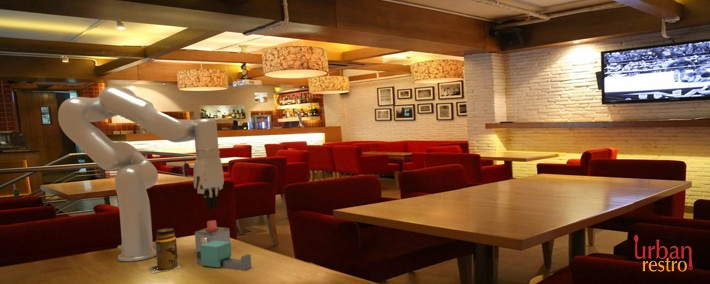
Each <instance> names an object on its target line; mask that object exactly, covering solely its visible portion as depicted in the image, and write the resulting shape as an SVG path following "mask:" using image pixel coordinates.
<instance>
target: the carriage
mask: <svg viewBox="0 0 710 284" xmlns="http://www.w3.org/2000/svg"><path fill="white" fill-rule="evenodd" d="M231 245H232V244H231V241H230V242H224V241H211V242H208V243H205V244H202V245H200V253H201V259H202V266H207V267H213V268H222V267H221V263H220V260H222V259H225V258H231V259H232V246H231Z"/></svg>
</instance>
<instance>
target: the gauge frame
mask: <svg viewBox="0 0 710 284" xmlns="http://www.w3.org/2000/svg"><path fill="white" fill-rule="evenodd" d="M194 238H195V253H196V254H195V255H196V256H197V251H200V245H202V244H205V243H208V242H211V241H224V242H231V236H230V227H220V226H219V227H218V226H217V230H216V231H213V232H210V231H208V229H207V227H206V228H203V229H199V230H196V231H194Z"/></svg>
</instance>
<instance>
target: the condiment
mask: <svg viewBox="0 0 710 284" xmlns="http://www.w3.org/2000/svg"><path fill="white" fill-rule="evenodd" d="M155 233H156V239H155V249H156V254H157V255H156V263H157V264H156V265H151V266H148V269H149V271H150V270H151V271H150V272H151V273H152V274H155V273H160V272H162V271H160V270H164V271H163V272H165V270H166V271H171V270H177V269H180V268H182V267H181V265H180V264H178V263H179V262H178V257H179V255H178V248H177V238H176V236H175V235H176V234H175V229H174V228H173V227H172V228H170V227H165V228H161V229H158V230H157V231H156V232H155ZM157 268H158V269H157ZM154 269H155V270H154ZM170 269H171V270H170ZM156 270H158V271H156Z"/></svg>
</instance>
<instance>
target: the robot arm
mask: <svg viewBox="0 0 710 284" xmlns="http://www.w3.org/2000/svg"><path fill="white" fill-rule="evenodd" d="M116 116H119V117H121V118H123V119H126V120H129V121H131V122H132V123H135V124H137V125H138V126H140V127H141V128H143V129H144V130H146V131H148V132H149V133H151V134H153V135H154V136H157V137H159V138H161V139H164V140H166V141H169V142H173V143H186V142H190V141H194V147H195V160H194V164H193V174H192V175H193V187H194V189H196V190H197V194H202V195H203V196H204V198H205V200H206V201H205V202H206V208H207V209H208V210H215V209H217V208H218V202H217V197H218V195H219V191H221V190H222V189H223V188H224V184H225V183H224V182H225V178H224V169H223V163H222V160H221V157H220V153H221V151H220V149H219V138H218V136H219V135H218V126H217V125H218V124H217V121H216V119H214V118H197V119H178V118H175V117H172V116H170V115H167V114H165V113H163V112H162V111H159V110H158V109H156V108H155V106H154V104H153V103H152V102H151V101H149V100H147V99H145V98H142V97H141V96H138V95H136V94H135V93H134V92H133V90H131V89H130V88H127V87H121V86H116V85H115V86H114V85H113V86H112V85H111V86H107V87H105V88H103V89H102V90H100V92H99V94H98V96H96V97H85V96H84V97H83V96H73V97H70V98H68V99H65V100H64V101H62V103H61V104H60V106H59V108H58V113H57V118H58V124H59V127H60V128H61V130H62V132H63V133H64V134H65V136H67V137H68V138H69V139H70V140H71V141H72V142H73V143H74V144H76V146H78V147H79V148H80V149H81V150H82V151H83V152H84V153H85V155H86V156H88V157H89V158H90V159H91V160H92V161H94V163H96V165H97V166H98V167H99V168H101V169H103V170H105V171H115V170H118V171H117V172H116V174H115V177H114V187H115V192H116V194H117V199H118V200H117V201H118V209H119V220H120V234H121V235H120V237H121V245H118V246H117V250H120V251H121V253H119V254H118V255H117V260H118V261H120V262H137V261H138V262H139V261H143V260H144V261H145V260H148V259H151V258H154V257H157V254H156V248H154V244H153V241H154V240H153V231H152V214H151V205H150V204H151V203H150V198H149V194H148V191H147V189H150V188H152V187H154V185H156V183H157V182H158V179H159V173H158V170H157V167H156V166H154V164H153V163H152V162H151V161H149V160H148V158H146V157H145V156H144V155H143V154H142V153H141V151H139V150H138V149H137V148H135V146H133V145H131V143H128V142H124V141H113V140H111V138H109V137H108V136H107V135H106V134H105V133H104V132H103V131H102V130H101V129H99V128H98V127H96V126H95V125H94V124H92V123H97V122H101V121H104V120H108V119H111V118H113V117H116Z"/></svg>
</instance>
